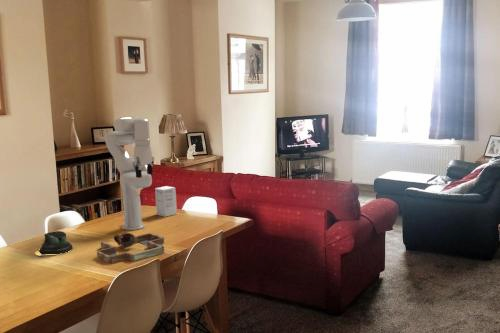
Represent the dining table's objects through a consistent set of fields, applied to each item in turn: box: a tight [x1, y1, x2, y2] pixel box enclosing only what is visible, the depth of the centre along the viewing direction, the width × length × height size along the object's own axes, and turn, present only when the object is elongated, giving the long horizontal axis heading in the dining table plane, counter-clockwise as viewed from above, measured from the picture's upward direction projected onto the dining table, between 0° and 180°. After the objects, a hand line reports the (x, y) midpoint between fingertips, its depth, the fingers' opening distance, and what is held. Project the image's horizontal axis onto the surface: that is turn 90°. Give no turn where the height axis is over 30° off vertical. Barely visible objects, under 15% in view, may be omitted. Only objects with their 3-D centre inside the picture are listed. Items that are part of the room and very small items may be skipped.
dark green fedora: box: [39, 230, 74, 255], centre depth 255 cm, size 20×20×9 cm
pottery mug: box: [113, 232, 137, 251], centre depth 258 cm, size 12×10×8 cm
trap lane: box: [96, 232, 165, 264], centre depth 253 cm, size 30×35×3 cm
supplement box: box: [154, 185, 178, 218], centre depth 321 cm, size 10×9×17 cm
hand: (144, 175), depth 269 cm, fingers open, 9 cm apart
